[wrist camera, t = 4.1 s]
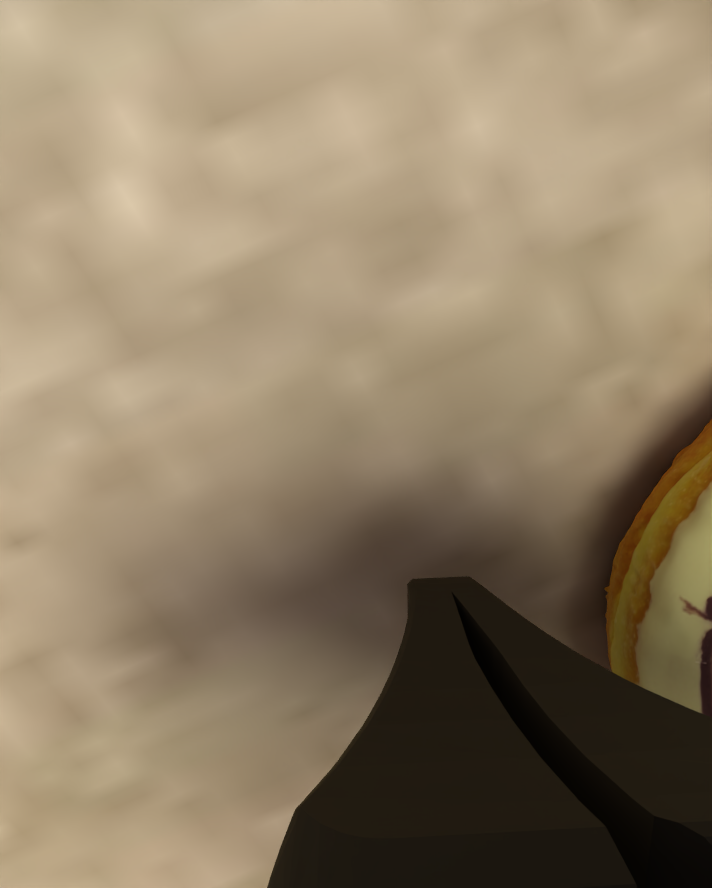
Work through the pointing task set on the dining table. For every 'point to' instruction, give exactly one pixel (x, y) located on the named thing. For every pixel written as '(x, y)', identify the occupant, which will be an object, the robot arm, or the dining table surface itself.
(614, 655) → the decorated donut
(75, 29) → the dining table surface
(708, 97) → the dining table surface
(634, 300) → the dining table surface
